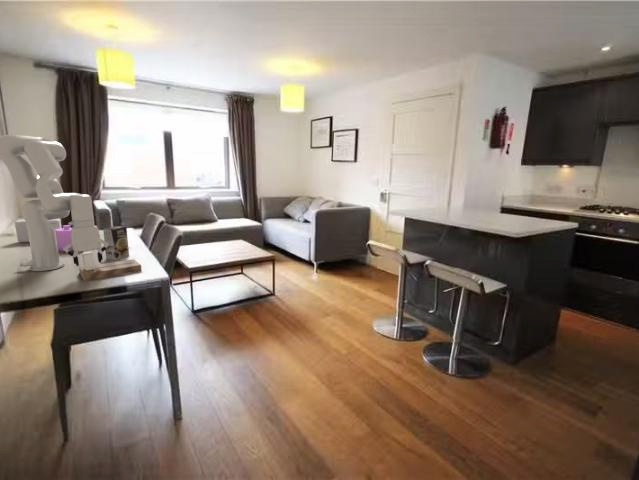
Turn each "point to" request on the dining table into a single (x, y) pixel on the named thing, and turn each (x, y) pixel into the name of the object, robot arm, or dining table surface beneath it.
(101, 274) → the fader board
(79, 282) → the dining table surface
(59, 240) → the teapot
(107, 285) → the dining table surface
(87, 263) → the white rectangular block
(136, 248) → the dining table surface
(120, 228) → the coffee box
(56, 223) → the stereo radio cassette player
